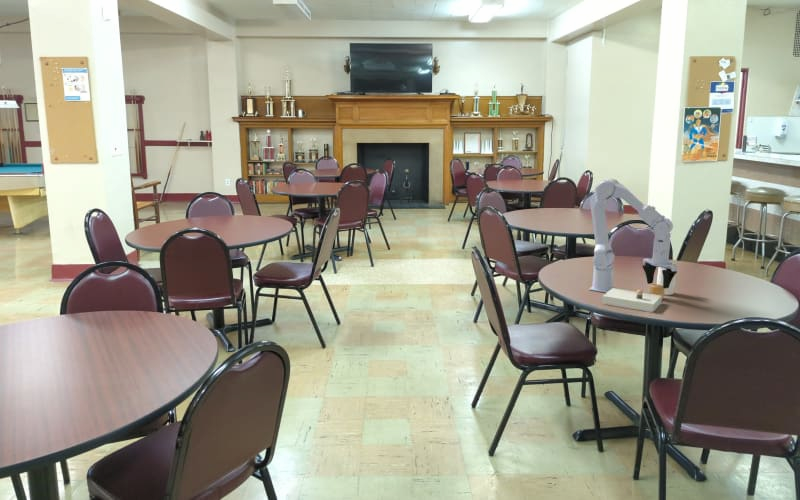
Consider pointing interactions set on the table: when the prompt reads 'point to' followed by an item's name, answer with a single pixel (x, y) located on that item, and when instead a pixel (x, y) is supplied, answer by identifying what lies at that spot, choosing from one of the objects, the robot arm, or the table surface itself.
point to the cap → (657, 290)
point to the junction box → (632, 299)
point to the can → (660, 282)
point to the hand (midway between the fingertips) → (657, 285)
